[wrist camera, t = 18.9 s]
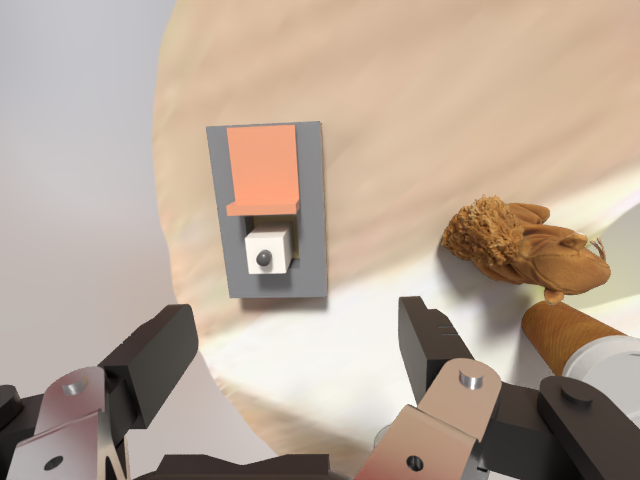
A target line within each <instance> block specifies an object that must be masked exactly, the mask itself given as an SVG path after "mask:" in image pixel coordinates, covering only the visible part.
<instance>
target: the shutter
mask: <svg viewBox="0 0 640 480" xmlns="http://www.w3.org/2000/svg"><path fill="white" fill-rule="evenodd" d="M227 136H228V144H229V152H230V161H231V169H232V177H233V185H234V193H235V201H234V202H232V203H231V204H229V205H227V206H226V210H227V216H241V215H275V214H296V213H297V212H298V210H299V208H300V204H299V203H300V193H299V176H298V160H297V144H296V127H295V125H277V126H257V127H236V128H227Z"/></svg>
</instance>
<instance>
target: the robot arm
mask: <svg viewBox="0 0 640 480" xmlns="http://www.w3.org/2000/svg"><path fill="white" fill-rule="evenodd" d="M398 338H399V346H400V351H401V355H402V358H403V361H404V364H405V368H406V371H407V374H408V377H409V381H410V384H411V387H412V390H413V394H414V397H415V400H416V403H417V408H416V407H414V406H412V405H409V404H408V405H406V406H405V407H404V408H403V409H402V410H401V412H400V413H399V415H398V416H397V417H396V419H395V420H394V422H393V423H392V425H389V426H387V427H385V428H384V429H382V430H381V431H380V432H379V433H378V435H377V436H376V438H375V442H374V451H373V452H372V454H371V455H370V456H369V458H368V459H367V461H366V462H365V464H364V465H363V467H362V468H361V470H360V471H359V472H358V474H357V475H356V477H355V478H354V480H488V477H489V474H490V471H493V472H497V473H500V474H503V475H507V476H510V477H513V478H517V479H520V480H640V429H639V428H638V427H637V426H636V425H635V424H634V423H633V422H632V421H631V420H630V419H629V418H628V417H627V416H626V415H625V414H624V413H623V412H622V411H621V410H620V409H619V408H618V407H617V406H616V405H615V404H614V403H613V402H612V401H611V400H610V399H609V398H608V397H607V396H606V395H605V394H604V393H602V392H601V391H600V390H598V389H596V388H595V387H593V386H591V385H589V384H587V383H585V382H583V381H580V380H577V379H574V378H570V377H564V376H550V377H547V378H544V379H543V380H542V381H541V382H540V386H539V390H534V389H530V388H525V387H520V386H515V385H511V384H507V383H504V382H502V381H501V379H500V377H499V375H498V374H497V373H496V372H495V371H494V370H493V369H492V368H491V367H489V366H488V365H486V364H484V363H482V362H479V361H476V360H475V359H474V358H473V356H472V354H471V353H470V351H469V350H468V348H467V347H466V345H465V343H464V342H463V340H462V339H461V337H460V336H459V335H458V333H457V331H456V329H455V328H454V327H453V325H452V323H451V322H450V320H449V318H448V317H447V316H446V315H444V314H443V313H441V312H440V311H438V310H437V309H427V307H426V306H425V304H424V302H423V300H422V298H421V297H420V296H412V297H399V310H398ZM197 350H198V335H197V331H196V326H195V321H194V316H193V312H192V308H191V306H190V305H189V304H176V305H167V306H166V307H165V308H164V309H163V310H162V311H161V312H160V313H158V314H157V315H156V316H155V318H153V319H151V320H149V321H148V322H146V323H144V324H143V325H141V326H140V327H138V328H137V329H136V330H135V331H134V332H133V333H132V334H131V336H129V337H128V338H127V339H125V340H124V341H123V344H120V345H119V346H118V347H117V348H116V349H115V350H114V351H113V352H112V353H111V354H110V355H108V356H107V357H106V358H105V359H104V360H103V361H102V362H101V363H100V364H98V366H93V367H92V366H91V367H86V368H81V369H78V370H75V371H73V372H70V373H68V374H66V375H64V376H63V377H61V378H59V379H58V380H56V381H55V382H54V383H52V384H51V385H50V386H49V387H48V388H47V390H46V391H45V393H44V394H40V395H35V396H31V397H27V398H23V399H20V397H19V395H18V392H17V390H16V388H15V387H14V386H12V385H1V386H0V480H131V478H130V466H129V455H128V444H127V440H126V437H125V434H126V433H127V432H128V430H129V429H147V428H148V426H149V425H150V423H151V421H152V420H153V419H154V417H155V416H156V414H157V413H158V411H159V410H160V408H161V406H162V405H163V404H164V402H165V400H166V399H167V398H168V396H169V394H170V393H171V391H172V390H173V389H174V387H175V385H176V384H177V383H178V381H179V380H180V378H181V377H182V375H183V374H184V372H185V370H186V369H187V367H188V366H189V365H190V363H191V362H192V360H193V359H194V357H195V355H196V353H197ZM133 480H353V479H351V478H349V477H348V476H345V475H343V474H341V473H339V472H336V471H332V470H330V463H329V454H287V455H283V456H279V457H275V458H271V459H267V460H264V461H259V462H255V463H251V464H247V465H238V464H235V463H231V462H228V461H224V460H221V459H218V458H214V457H211V456H208V455H165V456H164V457H163V459H162V461H161V463H160V465H159V467H158V468H157V470H156V471H154V472H150V473H147V474H145V475H142V476H140V477H137V478H135V479H133Z"/></svg>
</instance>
